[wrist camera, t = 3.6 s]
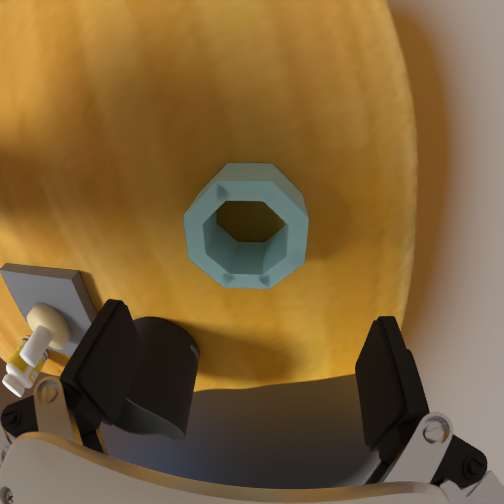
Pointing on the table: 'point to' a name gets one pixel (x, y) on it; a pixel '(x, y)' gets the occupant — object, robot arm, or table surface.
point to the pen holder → (161, 382)
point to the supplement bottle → (22, 371)
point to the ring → (247, 253)
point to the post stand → (50, 308)
